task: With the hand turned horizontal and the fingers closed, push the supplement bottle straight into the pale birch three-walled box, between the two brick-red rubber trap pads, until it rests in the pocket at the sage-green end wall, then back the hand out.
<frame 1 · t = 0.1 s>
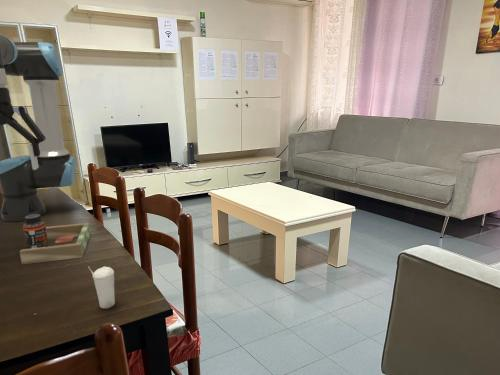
hand: (7, 170, 96), 28 cm above the table, tool pointing down, fingers open, 13 cm apart
milkshake: (105, 305, 85), on the table
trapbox: (59, 247, 115), on the table
supplement bottle: (38, 250, 114), on the table
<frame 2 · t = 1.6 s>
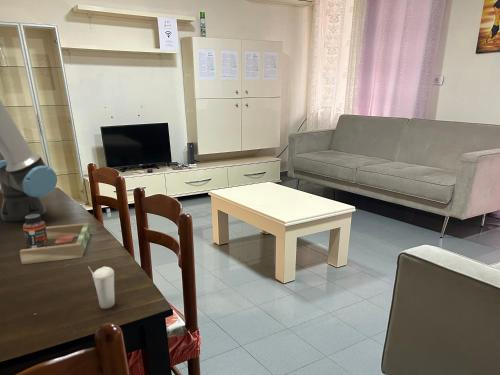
nothing on the table moved.
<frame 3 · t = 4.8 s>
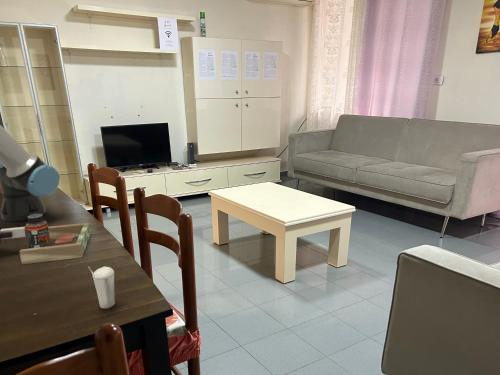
hand: (25, 231, 111), 7 cm above the table, tool horizontal, fingers closed
supplement bottle: (40, 250, 114), on the table, touching gripper
everything else where it was.
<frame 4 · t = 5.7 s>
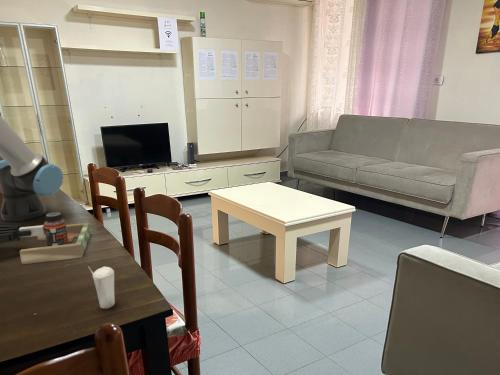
hand: (44, 230, 112), 6 cm above the table, tool horizontal, fingers closed
supplement bottle: (58, 248, 115), on the table, touching gripper
everything else where it was.
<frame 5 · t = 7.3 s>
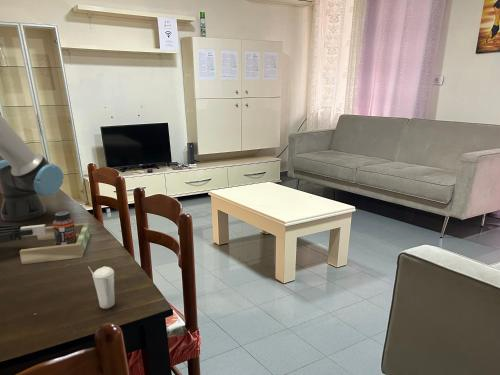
hand: (45, 229, 113), 7 cm above the table, tool horizontal, fingers closed
supplement bottle: (67, 247, 116), on the table
everything else where it was.
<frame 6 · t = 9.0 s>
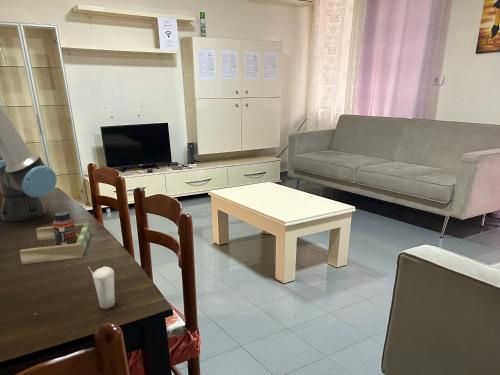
nothing on the table moved.
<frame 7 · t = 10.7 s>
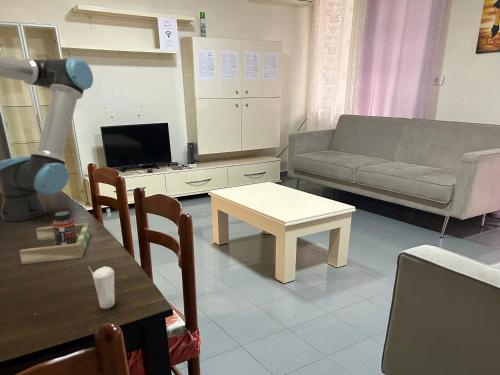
nothing on the table moved.
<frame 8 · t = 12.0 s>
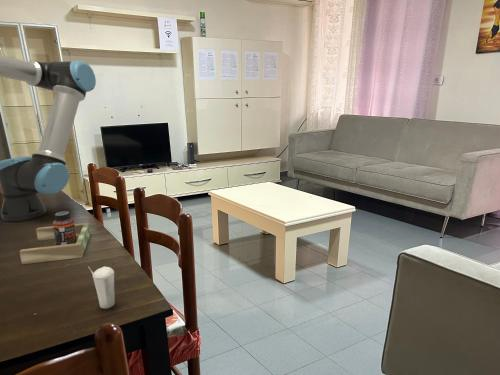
nothing on the table moved.
at the end: supplement bottle inside the target area (0.8 cm from its centre), on the table; supplement bottle tilted 0°; supplement bottle moved 8.2 cm from its start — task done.
